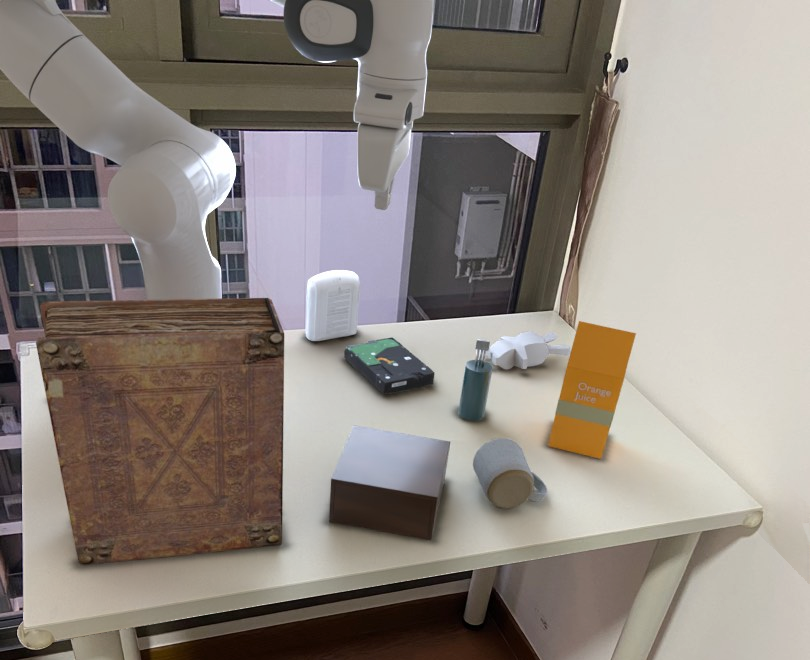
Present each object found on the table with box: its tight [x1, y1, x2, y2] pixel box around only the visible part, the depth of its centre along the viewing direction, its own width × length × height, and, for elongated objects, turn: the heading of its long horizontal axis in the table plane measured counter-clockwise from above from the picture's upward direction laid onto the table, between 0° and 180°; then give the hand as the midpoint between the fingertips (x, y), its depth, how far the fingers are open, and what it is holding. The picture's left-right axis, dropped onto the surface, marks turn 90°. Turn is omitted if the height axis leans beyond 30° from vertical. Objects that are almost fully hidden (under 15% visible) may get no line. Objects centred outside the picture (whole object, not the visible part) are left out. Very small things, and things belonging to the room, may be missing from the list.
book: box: [35, 297, 285, 566], centre depth 100 cm, size 25×9×30 cm, turn 106°
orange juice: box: [547, 320, 637, 460], centre depth 132 cm, size 8×9×20 cm
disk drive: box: [343, 337, 436, 395], centre depth 149 cm, size 10×3×15 cm
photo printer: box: [304, 269, 361, 342], centre depth 156 cm, size 10×4×12 cm, turn 124°
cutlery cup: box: [457, 338, 494, 422], centre depth 137 cm, size 4×4×13 cm
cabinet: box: [328, 424, 451, 541], centre depth 117 cm, size 14×14×7 cm
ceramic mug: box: [472, 437, 548, 509], centre depth 121 cm, size 11×8×8 cm
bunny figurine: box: [486, 330, 572, 370], centre depth 157 cm, size 10×5×15 cm
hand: (382, 206), depth 118 cm, fingers closed
